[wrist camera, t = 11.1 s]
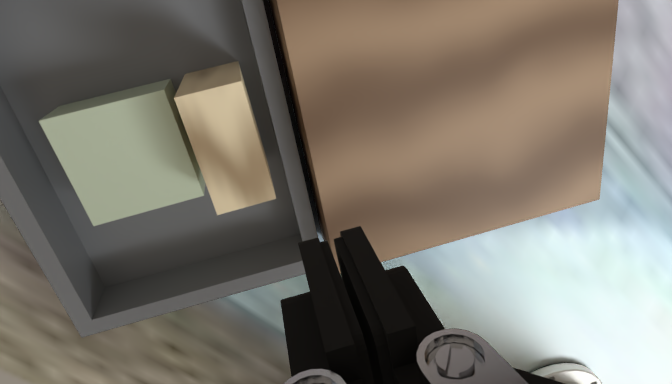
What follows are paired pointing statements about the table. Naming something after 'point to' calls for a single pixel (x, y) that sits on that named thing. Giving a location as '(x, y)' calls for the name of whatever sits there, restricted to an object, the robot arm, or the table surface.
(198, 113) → the maple block
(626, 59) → the table surface
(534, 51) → the tan wooden board
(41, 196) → the tray
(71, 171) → the sage block
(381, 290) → the robot arm
